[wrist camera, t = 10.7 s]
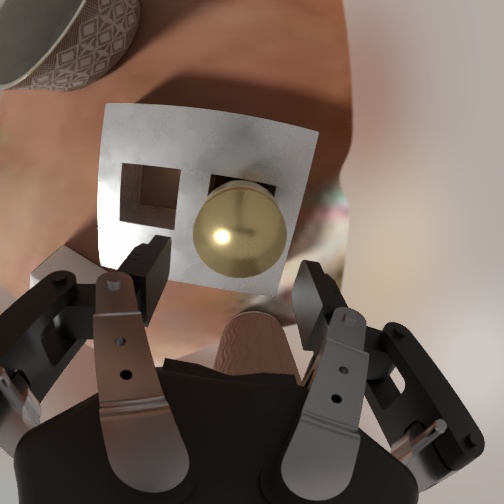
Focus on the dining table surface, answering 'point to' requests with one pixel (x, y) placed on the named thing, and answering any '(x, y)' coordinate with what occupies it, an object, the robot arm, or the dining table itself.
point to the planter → (63, 41)
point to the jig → (194, 180)
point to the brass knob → (240, 229)
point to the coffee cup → (254, 347)
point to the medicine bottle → (69, 262)
